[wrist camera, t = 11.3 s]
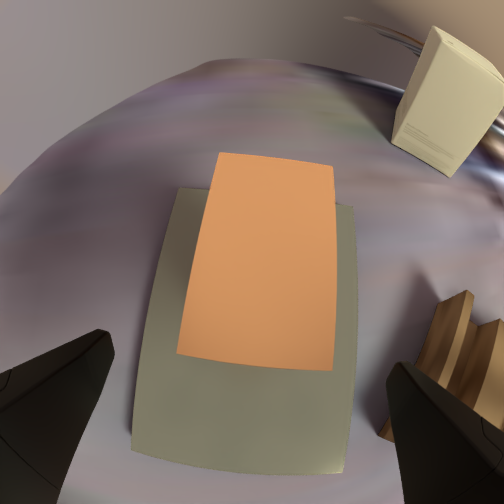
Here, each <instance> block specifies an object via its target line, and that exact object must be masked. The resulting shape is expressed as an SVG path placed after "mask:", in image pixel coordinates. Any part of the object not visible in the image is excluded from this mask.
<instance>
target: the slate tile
mask: <svg viewBox="0 0 504 504" xmlns="http://www.w3.org/2000/svg"><path fill="white" fill-rule="evenodd" d="M209 191H210V190H207V189H193V188H179V189H178V192H177V195H176V199H175V202H174V205H173V209H172V212H171V216H170V219H169V223H168V227H167V230H166V234H165V238H164V242H163V245H162V249H161V253H160V258H159V262H158V266H157V270H156V275H155V279H154V283H153V288H152V293H151V298H150V302H149V308H148V313H147V318H146V323H145V329H144V335H143V341H142V347H141V353H140V360H139V367H138V375H137V383H136V391H135V401H134V411H133V423H132V438H131V450H132V451H135V452H138V453H142V454H145V455H148V456H152V457H156V458H159V459H163V460H167V461H171V462H176V463H180V464H185V465H190V466H195V467H200V468H206V469H212V470H219V471H227V472H235V473H246V474H260V475H318V474H332V473H342V471H343V466H344V461H345V455H346V449H347V443H348V437H349V430H350V423H351V415H352V407H353V397H354V387H355V374H356V359H357V336H358V276H357V252H356V236H355V224H354V212H353V206H346V205H340V204H335V208H336V234H337V299H336V325H335V343H334V357H333V369H332V371H317V370H294V369H279V368H267V367H257V366H248V365H240V364H232V363H225V362H219V361H213V360H207V359H201V358H196V357H191V356H186V355H181V354H176V352H177V346H178V340H179V334H180V328H181V322H182V316H183V311H184V305H185V300H186V295H187V289H188V284H189V279H190V274H191V269H192V264H193V260H194V255H195V250H196V246H197V241H198V237H199V232H200V228H201V224H202V219H203V215H204V211H205V207H206V203H207V199H208V195H209Z"/></svg>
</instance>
